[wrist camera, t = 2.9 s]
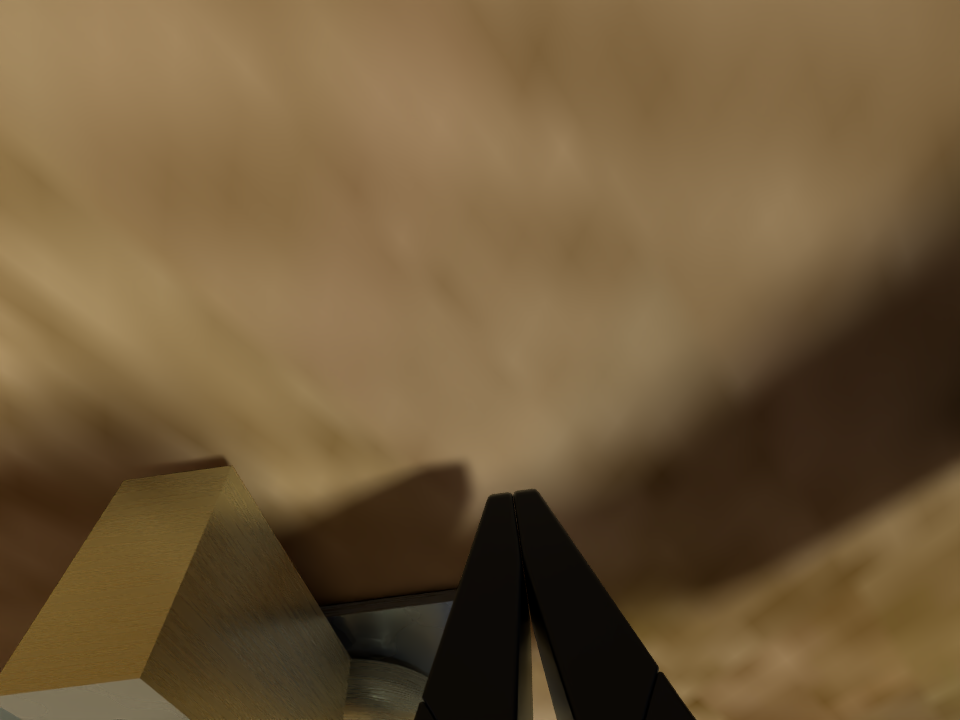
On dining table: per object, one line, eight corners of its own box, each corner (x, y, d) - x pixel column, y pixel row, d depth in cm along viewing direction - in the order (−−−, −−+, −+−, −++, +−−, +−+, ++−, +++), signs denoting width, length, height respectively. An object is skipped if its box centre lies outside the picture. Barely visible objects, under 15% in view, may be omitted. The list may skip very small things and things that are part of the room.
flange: (505, 720, 18) (506, 730, 18) (261, 750, 19) (258, 760, 18) (470, 587, 13) (471, 598, 13) (129, 631, 13) (124, 643, 13)
